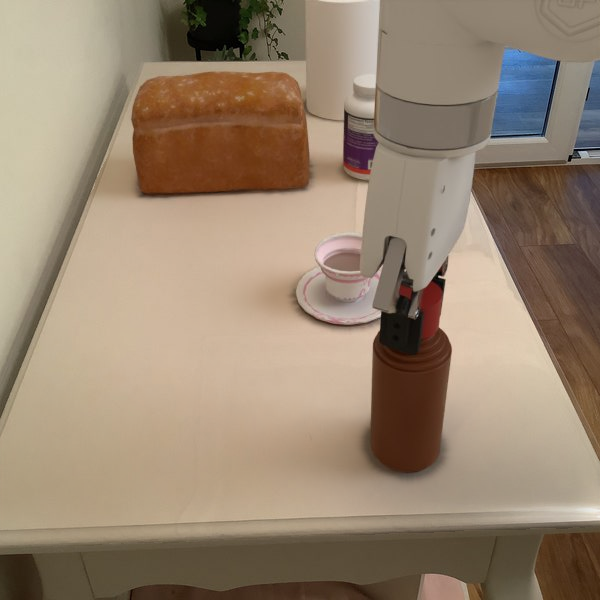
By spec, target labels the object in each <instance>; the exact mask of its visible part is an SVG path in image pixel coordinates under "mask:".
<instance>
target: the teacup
mask: <svg viewBox="0 0 600 600" xmlns="http://www.w3.org/2000/svg"><path fill="white" fill-rule="evenodd" d="M361 244H362V233H360V232H351V231H347V232H339V233H334V234H332V235H329V236H327V237H325V238H324V239H323V240H321V241H320V242H319V243H318V244H317V246H316V247H315V249H314V259H315V262H316V263H317V265H318V266H316V267H313V268H312V269H311V270H309V271H308V272H306V273H304V274H303V275H302V277H301V278H300V279H299V281H297V285H296V289H295V296H296V300H297V304H298V305H299V306H300V307H301V308H302V309H303V310H304V312H305V313H307V314H309V315H311V316H312V317H313V318H316V319H317V320H320V321H324V322H326V323H331V324H334V325H348V326H350V325H351V326H352V325H359V324H366V323H369V322H371V321H375V320H377V319H381V311H380V310H377V309H373V307H372V305H373V300H374V297H375V293H376V289H377V286H378V282H379V278H380V275H381V271H382V270H380V269H379V270H378V271H377V273H376V274H375V275H374V276H373V278H369V277H363V276H362V274H361V272H360V256H361Z"/></svg>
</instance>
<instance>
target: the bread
mask: <svg viewBox="0 0 600 600" xmlns="http://www.w3.org/2000/svg"><path fill="white" fill-rule="evenodd" d="M300 88H301V87H300V85H299V82H298V80H296V79H295V78H294V77H293V76H292V75H290V74H289V73H287V72H280V71H263V72H262V71H261V72H244V71H221V70H219V71H204V72H197V73H191V74H185V75H161V76H156V77H153V78H149V79H146V80H145V82H144V83H142V84H141V85H140V86H139V89H138V91H137V94H136V95H135V98H134V101H133V105H132V108H131V110H132V111H131V117H130V121H131V125H132V128H133V131H132V137H131V138H132V139H131V140H132V155H133V161H134V166H135V172H136V177H137V178H136V179H137V183H138V186H139V187H138V188H139V189H140V191H141V192H142V193H145V194H146V195H153V194H155V195H157V194H159V195H160V194H163V195H164V194H187V193H188V194H191V193H218V192H229V191H230V192H231V191H242V190H250V191H251V190H255V191H256V190H259V191H261V190H281V189H291V188H292V189H293V188H303V187H305V186H307V185H309V183H310V145H309V144H310V143H309V132H308V121H307V114H306V111H305V108H304V100H303V98H302V91H301V89H300Z"/></svg>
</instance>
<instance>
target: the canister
mask: <svg viewBox="0 0 600 600" xmlns="http://www.w3.org/2000/svg"><path fill="white" fill-rule="evenodd" d="M304 2H305V4H304V6H305V7H304V8H305V9H304V10H305V12H304V13H305V15H304V17H305V81H306V82H305V88H306V93H305V95H306V109H307V111H308V113H310V114H312V115H314V116H316V117H319V118H322V119H325V120H326V119H327V120H332V121H344V102H345V100H346V98H347V97H348V96H349V95H350V94H351V93H353V92H354V91H353V81H354V79H355V78H356V77H358V76H361V75H366V74H376V69H377V49H378V29H379V9H380V0H304Z"/></svg>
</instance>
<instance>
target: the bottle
mask: <svg viewBox="0 0 600 600" xmlns="http://www.w3.org/2000/svg"><path fill="white" fill-rule="evenodd" d="M379 335H380V329H379V331H378V332H377V334H376V335H375V337H374V338H373V341H372V354H371V355H372V361H371V366H372V367H371V397H370V399H371V400H370V428H369V429H370V434H369V435H370V436H369V446H370V450H371V452H372V455H373V456H374V457H375V459H376V460H377V461H378V462H379V463H381V465H383V466H385V467H387V468H388V469H391V470H394V471H397V472H403V473H412V472H419V471H422V470H424V469H425V470H426V469H427V468H428V467H430V466H431V465H433V464H434V463H435V462H436V460H437V459H438V457H439V455H440V453H441V445H442V436H443V427H444V419H445V412H446V403H447V394H448V388H449V378H450V370H451V364H452V363H451V362H452V353H453V347H452V343H451V341H450V339H449V336H448V335H447V334H446V332H445V331H444V330H443V329H441V327H439V328H438V330H437V332H436V333H435V334H434V335H433V336H431V337H429V338H426V339H422V340H421V345H420V350H419V352H418V354H417V355H411V354H408V353H405V352H402V351H399V350H396V349H393V348H390V347H387V346H384V345H382V344H381V343H380V342H379Z"/></svg>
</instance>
